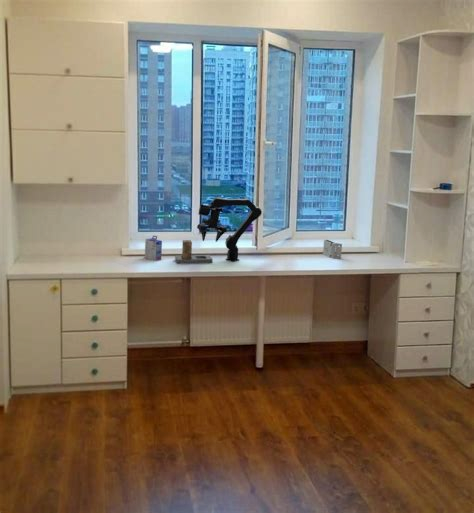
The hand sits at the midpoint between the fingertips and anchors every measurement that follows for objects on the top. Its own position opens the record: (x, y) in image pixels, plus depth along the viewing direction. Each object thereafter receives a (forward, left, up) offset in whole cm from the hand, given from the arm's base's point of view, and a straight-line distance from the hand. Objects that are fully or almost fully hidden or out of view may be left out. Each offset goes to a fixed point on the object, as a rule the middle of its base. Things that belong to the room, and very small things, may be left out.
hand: (209, 241), depth 405 cm
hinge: (-40, -75, -12) cm, 85 cm away
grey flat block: (+2, +11, -12) cm, 16 cm away
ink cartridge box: (+20, +28, -12) cm, 37 cm away
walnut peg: (+4, +15, -12) cm, 19 cm away
